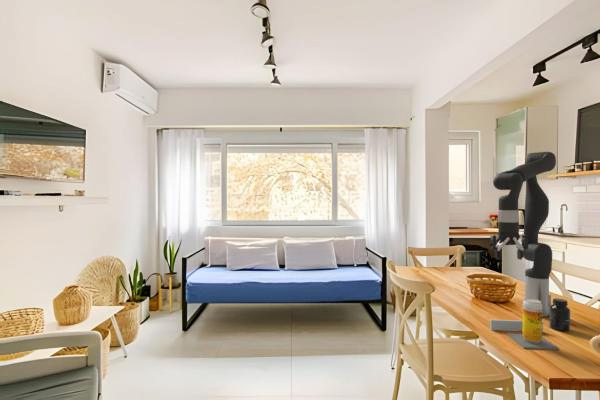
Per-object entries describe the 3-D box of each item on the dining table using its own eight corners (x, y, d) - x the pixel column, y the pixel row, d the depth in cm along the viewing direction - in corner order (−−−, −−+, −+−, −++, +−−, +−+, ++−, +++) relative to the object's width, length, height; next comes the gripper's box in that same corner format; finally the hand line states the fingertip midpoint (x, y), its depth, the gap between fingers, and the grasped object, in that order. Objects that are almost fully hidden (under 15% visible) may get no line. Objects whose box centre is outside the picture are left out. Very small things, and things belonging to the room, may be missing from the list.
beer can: (536, 345, 125) (536, 304, 124) (518, 338, 130) (519, 299, 130) (545, 341, 127) (545, 301, 127) (528, 335, 133) (528, 297, 133)
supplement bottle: (571, 333, 137) (571, 303, 137) (550, 329, 141) (550, 300, 140) (568, 327, 143) (569, 299, 143) (548, 324, 146) (549, 296, 146)
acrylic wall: (541, 331, 139) (541, 321, 139) (543, 332, 138) (543, 322, 138) (490, 329, 141) (490, 319, 141) (491, 330, 140) (491, 320, 140)
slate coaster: (539, 336, 134) (539, 334, 134) (559, 350, 122) (559, 348, 122) (507, 334, 135) (507, 333, 135) (523, 348, 123) (523, 346, 123)
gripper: (520, 219, 146) (521, 257, 147) (486, 220, 147) (487, 257, 148) (531, 221, 139) (532, 260, 139) (495, 221, 140) (495, 261, 140)
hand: (509, 259), depth 143 cm, fingers open, 8 cm apart
